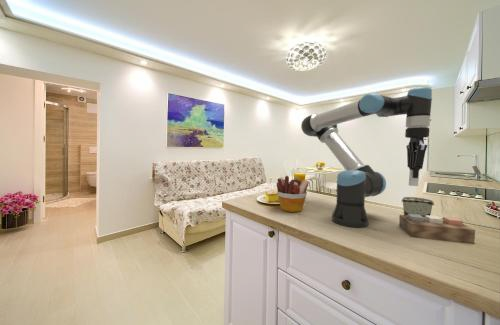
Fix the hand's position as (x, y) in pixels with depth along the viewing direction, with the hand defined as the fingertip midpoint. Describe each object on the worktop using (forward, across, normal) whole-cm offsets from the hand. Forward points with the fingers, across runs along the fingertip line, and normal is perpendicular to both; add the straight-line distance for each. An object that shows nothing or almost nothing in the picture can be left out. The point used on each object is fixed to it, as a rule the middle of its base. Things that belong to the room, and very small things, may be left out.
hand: (413, 185), depth 85 cm
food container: (+19, +18, -8) cm, 27 cm away
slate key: (+17, -2, -1) cm, 17 cm away
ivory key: (+16, -2, -7) cm, 18 cm away
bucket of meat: (+20, +13, +51) cm, 56 cm away
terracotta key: (+16, -2, -13) cm, 21 cm away
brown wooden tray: (+19, -2, -7) cm, 20 cm away
